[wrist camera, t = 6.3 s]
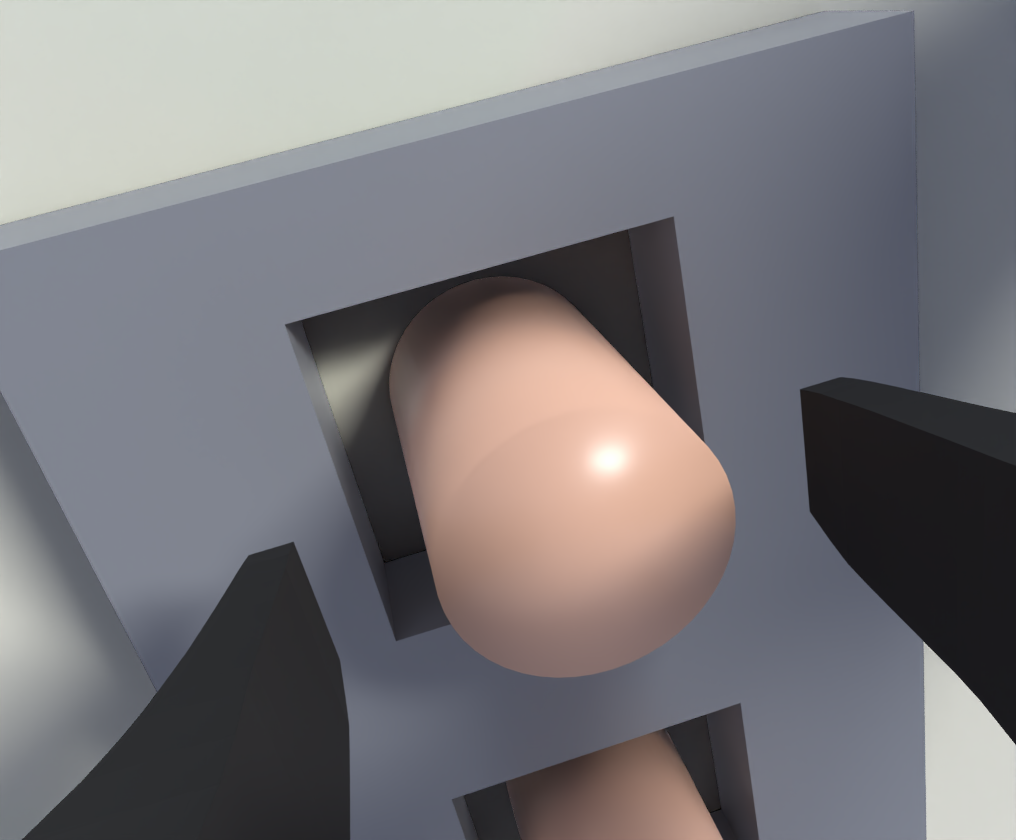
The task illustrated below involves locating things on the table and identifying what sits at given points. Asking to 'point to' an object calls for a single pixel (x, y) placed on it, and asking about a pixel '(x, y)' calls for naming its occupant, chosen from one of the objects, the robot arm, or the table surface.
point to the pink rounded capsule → (552, 483)
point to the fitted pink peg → (613, 796)
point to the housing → (676, 379)
